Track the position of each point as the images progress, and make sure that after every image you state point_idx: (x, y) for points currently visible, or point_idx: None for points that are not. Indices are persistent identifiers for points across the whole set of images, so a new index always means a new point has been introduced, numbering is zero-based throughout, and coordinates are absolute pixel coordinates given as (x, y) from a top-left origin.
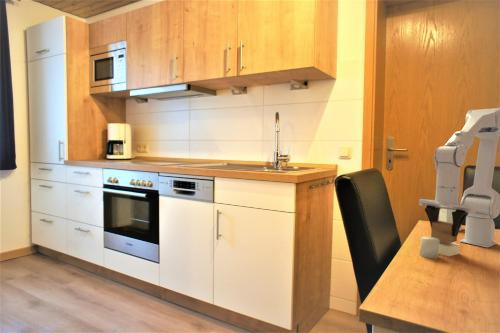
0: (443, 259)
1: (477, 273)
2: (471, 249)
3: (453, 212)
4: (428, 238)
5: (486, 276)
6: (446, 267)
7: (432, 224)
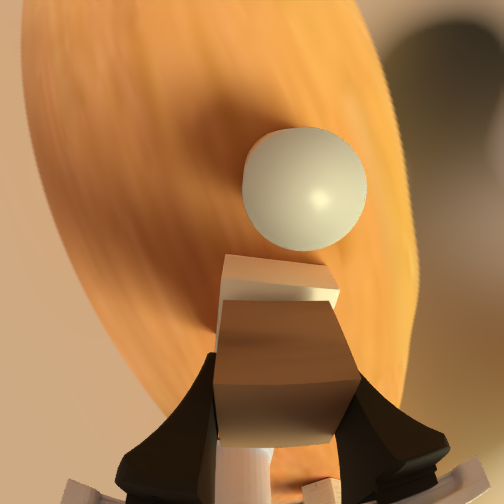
0: (217, 176)
1: (66, 110)
2: None
3: (180, 487)
4: (313, 173)
5: (43, 110)
6: (159, 59)
7: (352, 366)
